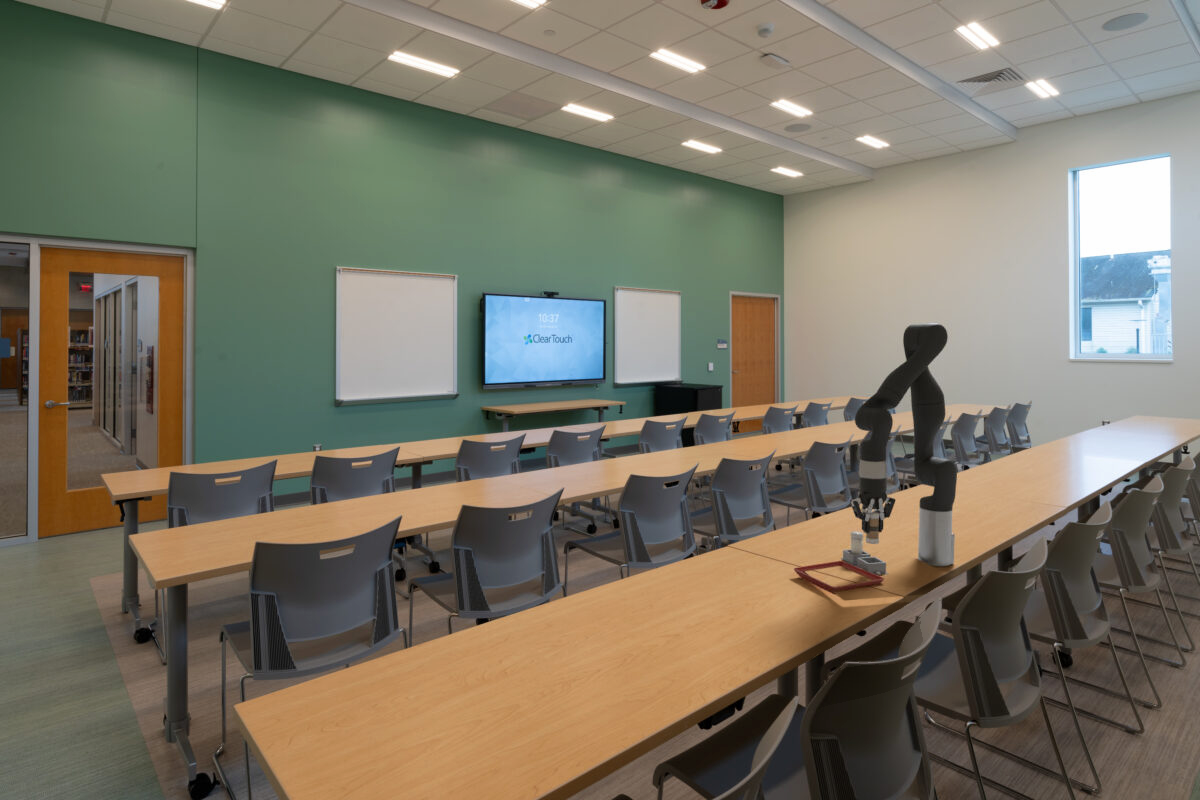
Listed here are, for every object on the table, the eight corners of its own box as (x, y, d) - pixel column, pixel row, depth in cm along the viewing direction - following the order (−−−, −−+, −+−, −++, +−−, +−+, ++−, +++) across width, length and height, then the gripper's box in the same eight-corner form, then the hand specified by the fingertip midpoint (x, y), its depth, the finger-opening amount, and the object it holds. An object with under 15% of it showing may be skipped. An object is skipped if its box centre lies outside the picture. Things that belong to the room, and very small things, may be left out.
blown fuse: (874, 540, 196) (874, 510, 196) (881, 543, 193) (881, 513, 192) (863, 540, 196) (863, 511, 195) (870, 544, 192) (870, 514, 192)
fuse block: (858, 561, 207) (858, 547, 207) (889, 578, 192) (889, 563, 191) (840, 562, 206) (840, 548, 206) (869, 580, 191) (869, 565, 190)
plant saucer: (792, 578, 194) (792, 567, 194) (840, 570, 201) (841, 559, 200) (833, 599, 177) (834, 587, 177) (885, 590, 184) (885, 578, 184)
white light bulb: (858, 559, 205) (859, 531, 204) (865, 563, 201) (865, 534, 201) (848, 560, 204) (848, 531, 204) (854, 563, 201) (854, 535, 200)
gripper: (887, 471, 198) (886, 527, 199) (844, 473, 195) (843, 530, 197) (902, 476, 190) (901, 534, 192) (857, 478, 188) (857, 537, 189)
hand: (872, 531), depth 194 cm, fingers closed on blown fuse, 3 cm apart
